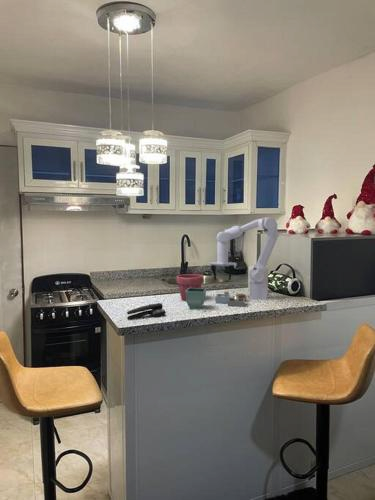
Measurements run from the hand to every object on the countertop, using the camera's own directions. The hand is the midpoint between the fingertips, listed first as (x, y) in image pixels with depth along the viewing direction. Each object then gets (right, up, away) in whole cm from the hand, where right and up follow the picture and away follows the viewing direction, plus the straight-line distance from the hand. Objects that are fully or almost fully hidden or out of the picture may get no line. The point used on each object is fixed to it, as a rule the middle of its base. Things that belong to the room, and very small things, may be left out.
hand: (222, 279), depth 209 cm
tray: (+5, -12, -15) cm, 20 cm away
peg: (+5, -11, -15) cm, 20 cm away
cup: (-1, -11, -9) cm, 14 cm away
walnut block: (+9, -11, -7) cm, 16 cm away
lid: (+2, -11, 0) cm, 11 cm away
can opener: (-37, -14, -36) cm, 54 cm away
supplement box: (+22, -9, +20) cm, 32 cm away
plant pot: (-17, -11, 0) cm, 20 cm away
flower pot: (-15, -12, -20) cm, 28 cm away
